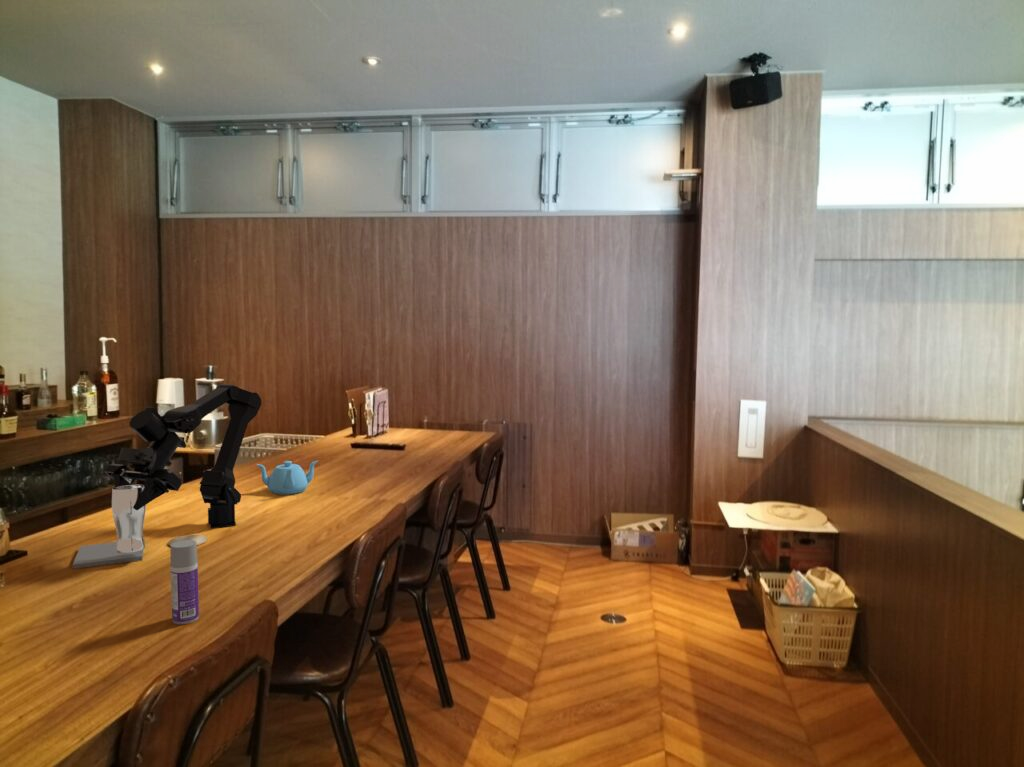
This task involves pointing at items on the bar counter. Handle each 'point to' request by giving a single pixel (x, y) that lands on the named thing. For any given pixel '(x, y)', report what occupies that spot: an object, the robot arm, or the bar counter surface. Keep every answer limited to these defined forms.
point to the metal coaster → (198, 538)
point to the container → (184, 582)
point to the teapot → (287, 478)
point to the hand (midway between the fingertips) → (123, 507)
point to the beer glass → (128, 518)
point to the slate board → (103, 555)
